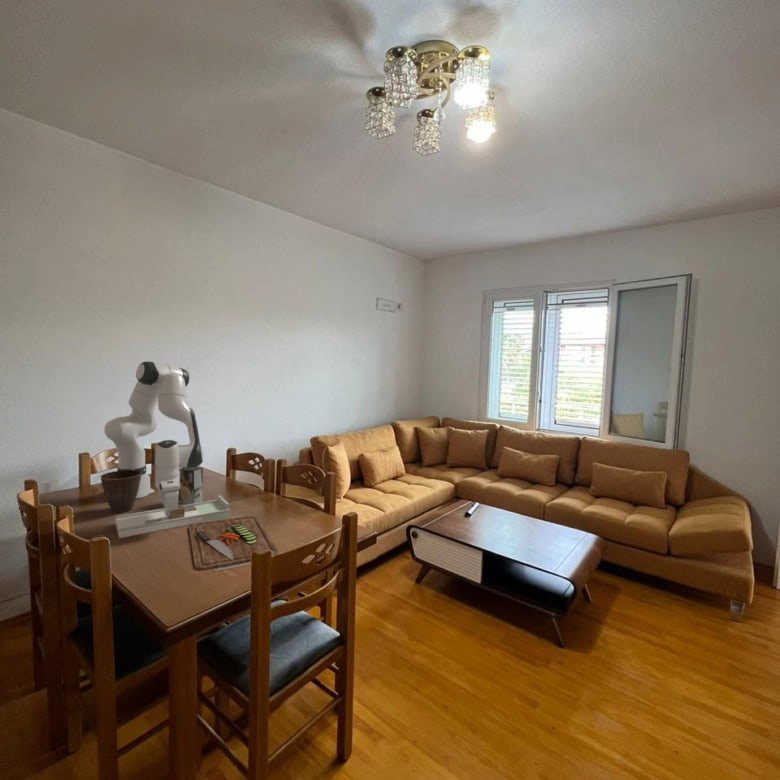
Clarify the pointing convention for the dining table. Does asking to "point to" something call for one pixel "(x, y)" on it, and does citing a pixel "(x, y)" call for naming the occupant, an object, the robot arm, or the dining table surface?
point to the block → (178, 512)
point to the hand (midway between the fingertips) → (167, 514)
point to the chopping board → (228, 542)
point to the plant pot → (121, 489)
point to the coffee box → (191, 485)
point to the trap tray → (160, 521)
